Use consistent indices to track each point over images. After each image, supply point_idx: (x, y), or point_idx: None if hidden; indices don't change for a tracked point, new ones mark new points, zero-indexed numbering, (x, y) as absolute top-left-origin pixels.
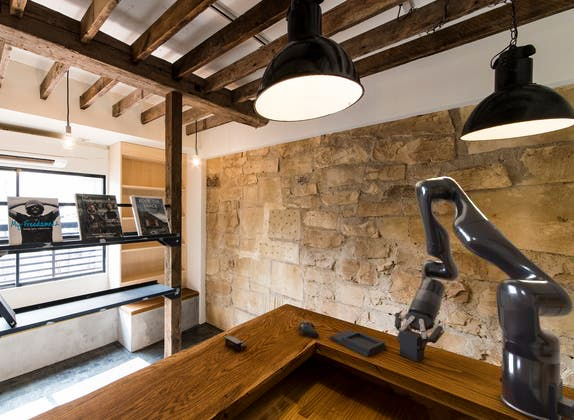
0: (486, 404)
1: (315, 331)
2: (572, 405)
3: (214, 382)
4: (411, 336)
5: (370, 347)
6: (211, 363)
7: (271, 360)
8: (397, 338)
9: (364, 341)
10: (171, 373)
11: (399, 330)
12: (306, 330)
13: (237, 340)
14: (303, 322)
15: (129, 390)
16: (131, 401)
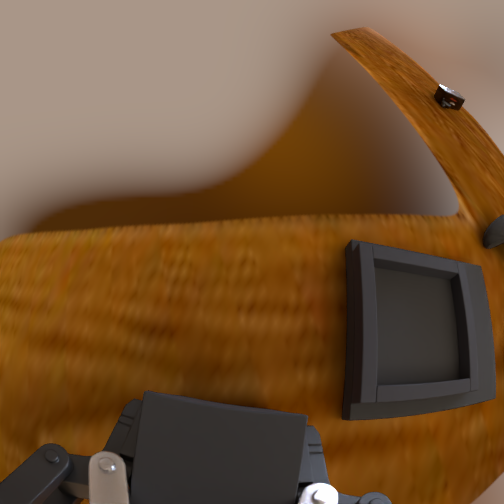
0: (7, 246)
1: (498, 230)
2: None
3: (372, 53)
4: (193, 402)
5: (367, 266)
6: (410, 71)
7: (404, 98)
8: (310, 428)
9: (422, 349)
10: (398, 54)
11: (331, 490)
12: (502, 216)
13: (448, 91)
14: None
15: (380, 38)
16: (366, 33)
